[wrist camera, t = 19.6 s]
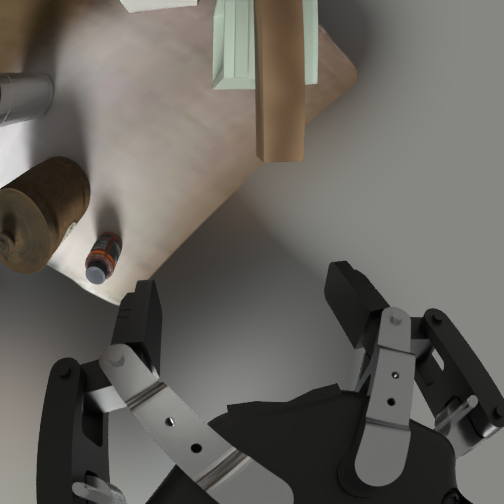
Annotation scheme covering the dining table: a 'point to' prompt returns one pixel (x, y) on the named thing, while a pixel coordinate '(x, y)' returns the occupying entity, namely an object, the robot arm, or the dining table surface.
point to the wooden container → (40, 212)
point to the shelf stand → (154, 4)
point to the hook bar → (279, 80)
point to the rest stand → (252, 44)
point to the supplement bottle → (103, 258)
